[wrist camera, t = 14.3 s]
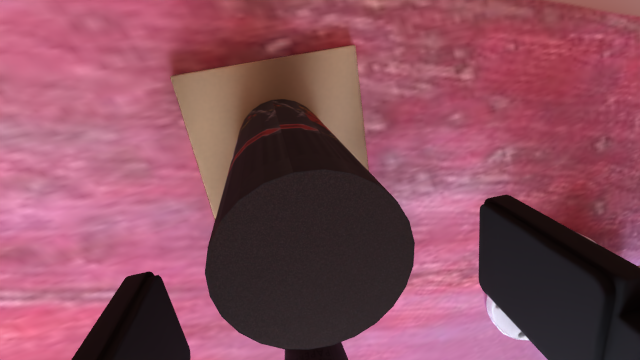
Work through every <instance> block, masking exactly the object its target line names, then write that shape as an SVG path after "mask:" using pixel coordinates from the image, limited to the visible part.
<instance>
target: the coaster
mask: <svg viewBox="0 0 640 360" xmlns="http://www.w3.org/2000/svg"><path fill="white" fill-rule="evenodd" d="M170 78H171V81H172V84H173V87H174V91H175V94H176V97H177V100H178V103H179V107H180V110H181V113H182V116H183V119H184V123H185V126H186V129H187V132H188V135H189V139H190V142H191V145H192V148H193V152H194V155H195V158H196V161H197V164H198V168H199V171H200V174H201V177H202V180H203V184H204V187H205V190H206V193H207V197H208V200H209V203H210V206H211V209H212V213H213V216H214V219H215V220H216V216H217V212H218V209H219V205H220V201H221V197H222V194H223V190H224V186H225V183H226V179H227V175H228V172H229V168H230V164H231V161H232V157H233V153H234V149H235V146H236V142H237V138H238V135H239V131H240V128H241V126H242V124H243V121H244V119H245V118H246V117H247V115H248V114H249V113H250V112H251V111H252V110H253V109H254V108H256V107H257V106H259V105H260V104H262V103H265V102H267V101H270V100H277V99H286V100H291V101H296V102H298V103H300V104H302V105H304V106H306V107H307V108H308V109H309V110H310V111H311V112H313V113H314V114H315V115H316V116H317V118H318V119H319V120H320V121H321V122H322V123H323V124H324V125H325V126H326V127H327V128H328V129H329V130H330V131H331V132H332V133H333V134H334V135H335V136H336V138H337V139H338V140H339V141H340V142H341V143H342V144H343V145H344V146H345V147H346V148H347V149H348V150H349V151H350V152H351V153H352V154H353V155H354V156H355V157H356V159H357V160H358V161H359V162H360V163H361V164H362V165H363V166H364V167H365V168H366V169H367V170H368V171H369V169H368V159H367V150H366V141H365V131H364V122H363V113H362V103H361V94H360V85H359V75H358V66H357V56H356V47H355V45H349V46H343V47H337V48H331V49H325V50H320V51H314V52H308V53H302V54H296V55H290V56H284V57H278V58H272V59H266V60H260V61H254V62H249V63H243V64H237V65H231V66H225V67H219V68H213V69H207V70H201V71H195V72H189V73H183V74H178V75H172V76H171V77H170Z"/></svg>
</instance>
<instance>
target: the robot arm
mask: <svg viewBox="0 0 640 360" xmlns="http://www.w3.org/2000/svg"><path fill="white" fill-rule="evenodd" d="M479 283H480V286H481V288H482V289H483V291H484V292H485V293H486V294H487V300H486V305H487V312H488V314H489V317H490V319H491V320H492V322H493V323H494V324H495V325H496V327H497V328H498V329H499V330H500V331H501V332H502V333H503V334H505V335H507V336H509V337H511V338H514V339H518V340H530V341H531V342H532V343H533V344H534V345H535V346H536V348H537V349H538V350H539V351H540V352H541V353H542V354H543V355H544V356H545V357H546V358H547V359H548V360H640V266H636V265H634V264H632V263H631V262H629V261H627V260H625V259H623V258H622V257H620V256H618V255H616V254H614V253H613V252H611V251H609V250H607V249H605V248H604V247H602V246H600V245H598V244H597V243H596V242H595V241H593V240H591V239H590V238H588V237H586V236H585V235H582V234H580V233H577V232H575V231H573V230H571V229H569V228H567V227H566V226H564V225H562V224H560V223H558V222H557V221H555V220H553V219H551V218H549V217H548V216H546V215H544V214H542V213H540V212H539V211H537V210H535V209H533V208H531V207H530V206H528V205H526V204H524V203H522V202H520V201H519V200H517V199H515V198H513V197H511V196H509V195H502V196H497V197H493V198H488V199H486V200H485V202H484V204H483V205H482V206H481V207H480V233H479ZM72 360H190V349H189V346H188V343H187V341H186V338H185V336H184V333H183V331H182V328H181V326H180V323H179V321H178V318H177V316H176V313H175V311H174V308H173V306H172V303H171V301H170V298H169V296H168V293H167V291H166V288H165V286H164V283H163V281H162V279H161V277H160V276H159V275H156V276H154V274H153V273H152V272H145V273H141V274H136V275H131V276H128V277H126V278H125V279H124V281H123V282H122V284H121V286H120V287H119V289H118V290H117V292H116V293H115V295H114V296H113V298H112V299H111V301H110V302H109V304H108V305H107V307H106V308H105V310H104V311H103V313H102V314H101V316H100V317H99V319H98V320H97V322H96V323H95V325H94V326H93V328H92V329H91V331H90V332H89V334H88V335H87V337H86V339H85V340H84V342H83V343H82V345H81V346H80V348H79V349H78V351H77V352H76V354H75V355H74V357H73V358H72Z"/></svg>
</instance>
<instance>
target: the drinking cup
mask: <svg viewBox="0 0 640 360" xmlns="http://www.w3.org/2000/svg"><path fill="white" fill-rule="evenodd" d="M285 360H348V358H347V355H346V353H345V350H344V348H343V345H342V343H341V342H339V343H337V344H334V345H331V346H325V347H320V348H314V349H309V350H306V349H285Z"/></svg>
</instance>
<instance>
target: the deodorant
mask: <svg viewBox="0 0 640 360" xmlns="http://www.w3.org/2000/svg"><path fill="white" fill-rule="evenodd" d="M414 244H415V243H414V239H413V235H412V231H411V226H410V222H409V220H408V218H407V217H406V215H405V213H404V212H403V210H402V209H401V207H400V205H399V204H398V202H397V201H396V200H395V199H394V197H393V196H392V195H391V194H390V193H389V192H388V191H387V190H386V189H385V188H384V187H383V186H382V185H381V184H380V183H379V182H378V181H377V180H376V179H375V177H374V176H373V175H372V174H371V173H370V172H369V171H368V170H367V169H366V168H365V167H364V166H363V165H362V164H361V163H360V162H359V161H358V160H357V159H356V157H355V156H354V155H353V154H352V153H351V152H350V151H349V150H348V149H347V148H346V147H345V146H344V145H343V144H342V143H341V142H340V141H339V140H338V139H337V138H336V136H335V135H334V134H333V133H332V132H331V131H330V130H329V129H328V128H327V127H326V126H325V125H324V124H323V123H322V122H321V121H320V120H319V119H318V118H317V116H316V115H315V114H314V113H313V112H311V111H310V110H309V109H308V108H307V107H306V106H304V105H302V104H300V103H298V102H296V101H291V100H286V99H277V100H270V101H267V102H265V103H262V104H260V105H259V106H257V107H256V108H254V109H253V110H252V111H251V112H250V113H249V114H248V115H247V117H246V118H245V119H244V121H243V124H242V126H241V128H240V131H239V135H238V138H237V142H236V146H235V149H234V153H233V157H232V161H231V164H230V168H229V172H228V175H227V179H226V183H225V186H224V190H223V194H222V197H221V201H220V205H219V209H218V212H217V216H216V220H215V223H214V227H213V231H212V234H211V238H210V242H209V246H208V251H207V260H206V268H205V275H206V280H207V285H208V290H209V294H210V297H211V299H212V301H213V303H214V304H215V306H216V308H217V309H218V311H219V313H220V315H221V316H222V317H223V318H224V319H225V320H226V321H227V322H228V323H229V324H230V325H231V326H233V327H234V328H235V329H236V330H237V331H238V332H239V333H241V334H243V335H245V336H247V337H249V338H251V339H253V340H255V341H257V342H259V343H261V344H265V345H269V346H273V347H278V348H282V349H306V350H309V349H314V348H320V347H325V346H331V345H334V344H337V343H339V342H342V341H344V340H347V339H350V338H352V337H355V336H357V335H358V334H360V333H361V332H363V331H364V330H366V329H368V328H369V327H371V326H372V325H374V324H375V323H377V322H378V321H379V320H380V319H381V318H382V317H383V316H384V315H385V314H386V313H387V312H388V311H389V310H390V309H391V308H392V307H393V306H394V304H395V303H396V301H397V300H398V298H399V297H400V295H401V293H402V292H403V290H404V289H405V287H406V285H407V282H408V279H409V276H410V273H411V270H412V268H413V261H414Z"/></svg>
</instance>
